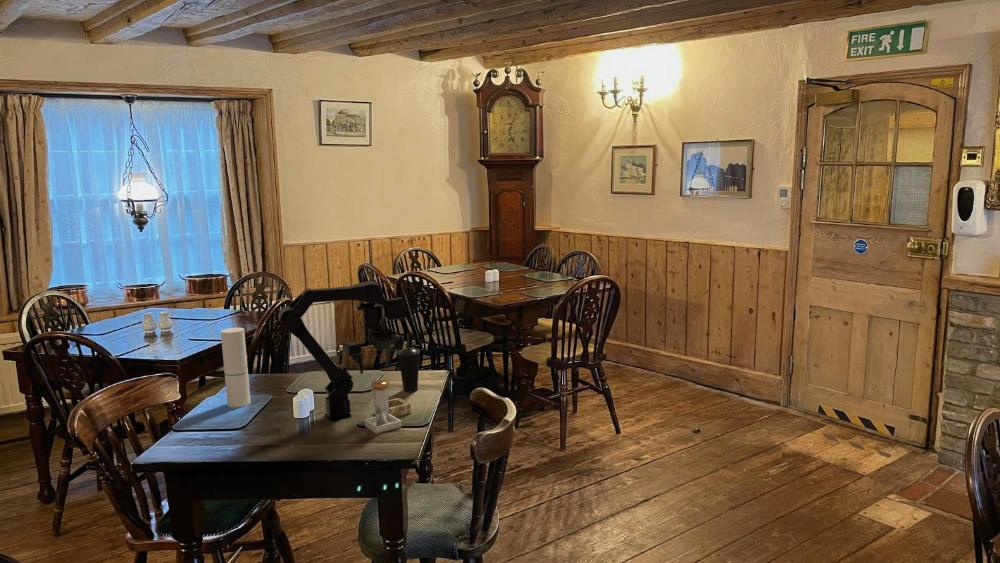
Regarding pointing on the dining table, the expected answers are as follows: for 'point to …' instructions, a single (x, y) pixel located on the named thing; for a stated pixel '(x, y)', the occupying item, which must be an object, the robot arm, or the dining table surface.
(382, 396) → the copper-capped peg
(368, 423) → the tray
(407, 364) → the drinking cup
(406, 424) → the dining table surface
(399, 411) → the socket block
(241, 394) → the cylindrical container
